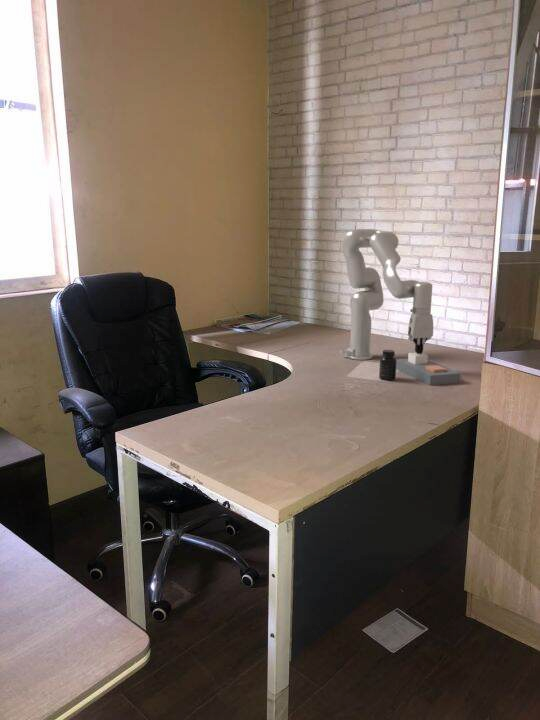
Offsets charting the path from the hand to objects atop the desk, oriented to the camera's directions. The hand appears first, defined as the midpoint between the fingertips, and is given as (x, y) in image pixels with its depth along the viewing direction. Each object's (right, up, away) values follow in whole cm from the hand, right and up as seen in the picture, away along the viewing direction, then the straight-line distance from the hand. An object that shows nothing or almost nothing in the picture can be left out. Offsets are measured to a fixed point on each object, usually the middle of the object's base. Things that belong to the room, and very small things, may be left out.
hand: (418, 353), depth 252 cm
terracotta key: (+4, -11, -11) cm, 16 cm away
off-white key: (0, -5, +2) cm, 6 cm away
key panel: (+2, -9, -4) cm, 11 cm away
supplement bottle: (-16, -11, -11) cm, 22 cm away
